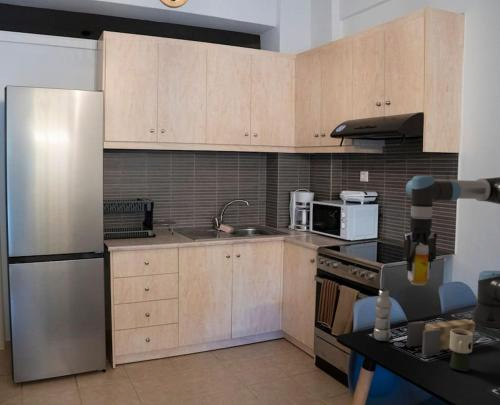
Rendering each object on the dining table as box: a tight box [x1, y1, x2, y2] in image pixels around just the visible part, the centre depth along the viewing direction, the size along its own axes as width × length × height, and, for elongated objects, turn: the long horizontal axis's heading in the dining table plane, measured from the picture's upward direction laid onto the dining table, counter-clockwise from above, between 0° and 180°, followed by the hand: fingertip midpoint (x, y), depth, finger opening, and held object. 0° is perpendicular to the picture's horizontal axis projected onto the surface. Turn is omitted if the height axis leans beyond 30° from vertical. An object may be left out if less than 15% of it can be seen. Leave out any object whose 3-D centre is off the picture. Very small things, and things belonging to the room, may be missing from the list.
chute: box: [404, 320, 443, 357], centre depth 182 cm, size 7×12×9 cm, turn 20°
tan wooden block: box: [424, 318, 476, 351], centre depth 187 cm, size 20×4×9 cm, turn 111°
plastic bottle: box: [373, 288, 393, 342], centre depth 191 cm, size 6×7×20 cm
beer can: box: [409, 243, 429, 286], centre depth 181 cm, size 6×6×15 cm
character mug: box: [449, 329, 473, 372], centre depth 166 cm, size 11×7×13 cm, turn 156°
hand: (418, 278), depth 181 cm, fingers closed on beer can, 6 cm apart
